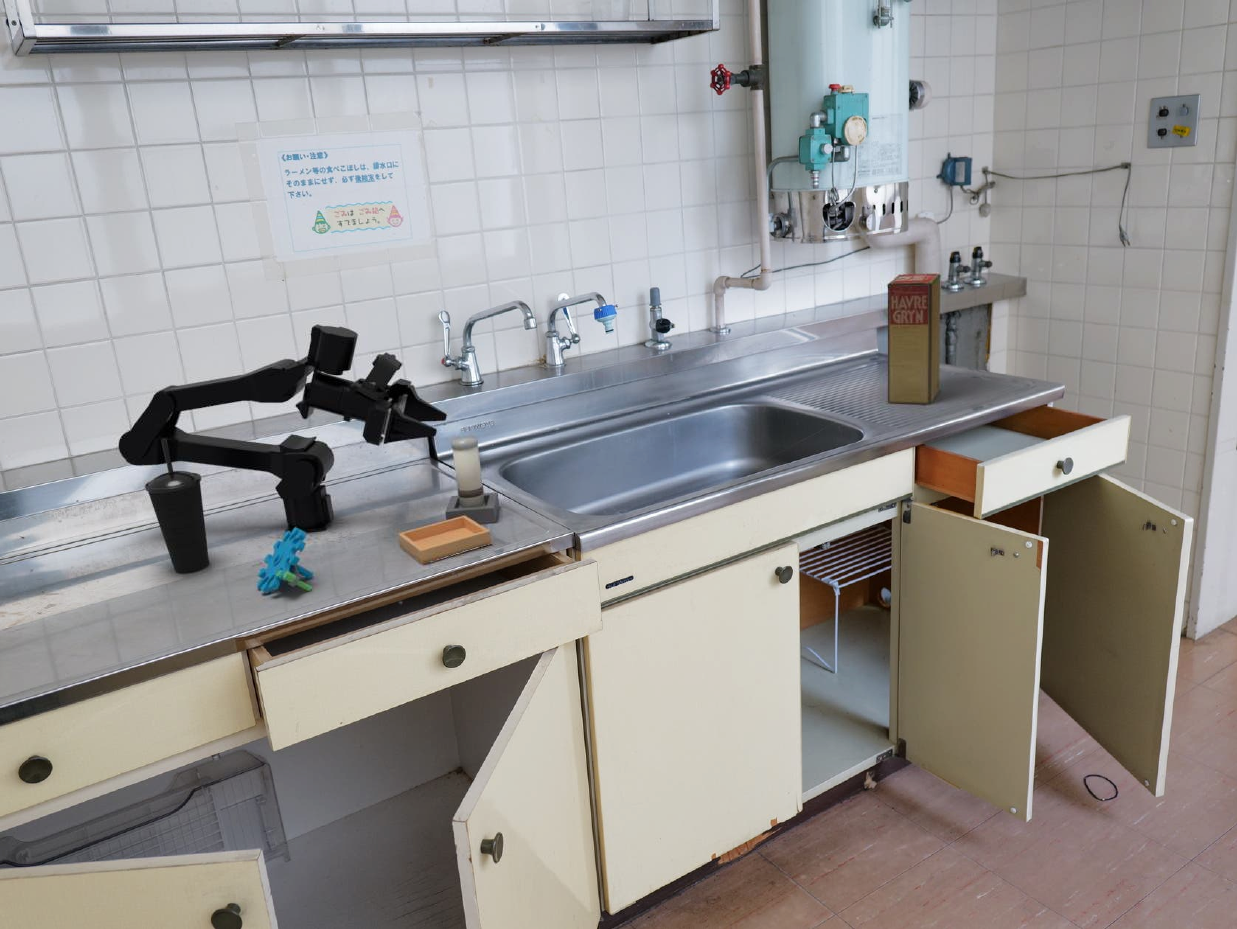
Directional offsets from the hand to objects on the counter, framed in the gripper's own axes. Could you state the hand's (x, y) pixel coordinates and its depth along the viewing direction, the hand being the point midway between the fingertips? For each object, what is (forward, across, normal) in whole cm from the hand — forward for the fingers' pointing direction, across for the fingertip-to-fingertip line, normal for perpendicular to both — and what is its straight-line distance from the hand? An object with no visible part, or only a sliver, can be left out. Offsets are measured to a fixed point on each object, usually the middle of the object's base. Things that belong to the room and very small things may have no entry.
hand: (441, 424), depth 157 cm
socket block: (+9, -1, +13) cm, 16 cm away
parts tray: (+6, -13, +14) cm, 20 cm away
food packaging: (+89, +54, -17) cm, 106 cm away
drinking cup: (-29, -14, +28) cm, 43 cm away
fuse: (+9, -1, +13) cm, 16 cm away
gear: (-13, -24, +22) cm, 35 cm away
